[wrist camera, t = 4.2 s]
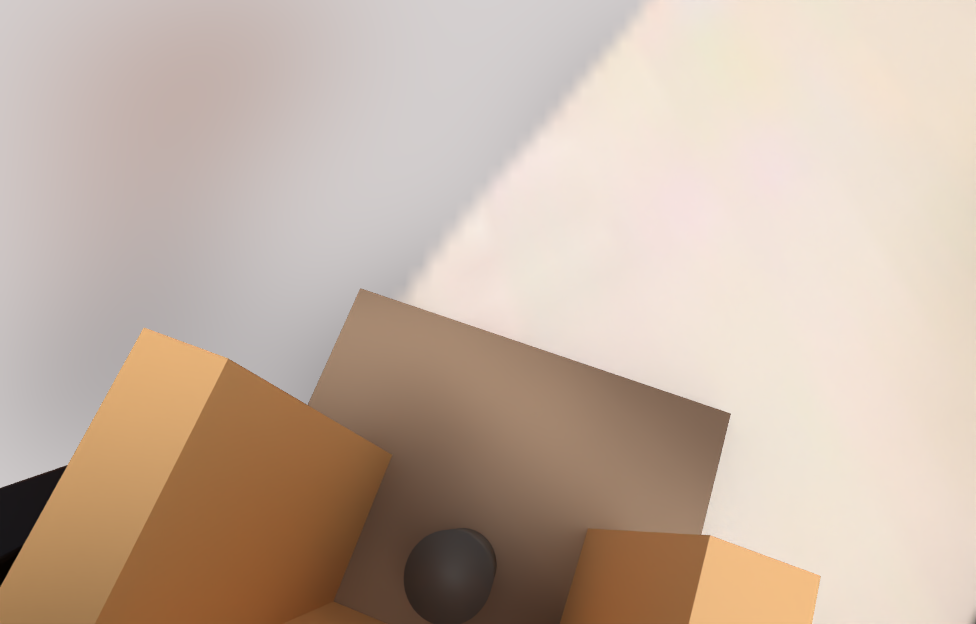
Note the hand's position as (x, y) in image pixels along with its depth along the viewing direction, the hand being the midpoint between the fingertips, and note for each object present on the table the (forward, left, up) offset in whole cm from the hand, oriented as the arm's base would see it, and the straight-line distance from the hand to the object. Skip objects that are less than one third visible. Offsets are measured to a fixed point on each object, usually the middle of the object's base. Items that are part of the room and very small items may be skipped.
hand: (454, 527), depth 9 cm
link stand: (-1, 0, -7) cm, 7 cm away
